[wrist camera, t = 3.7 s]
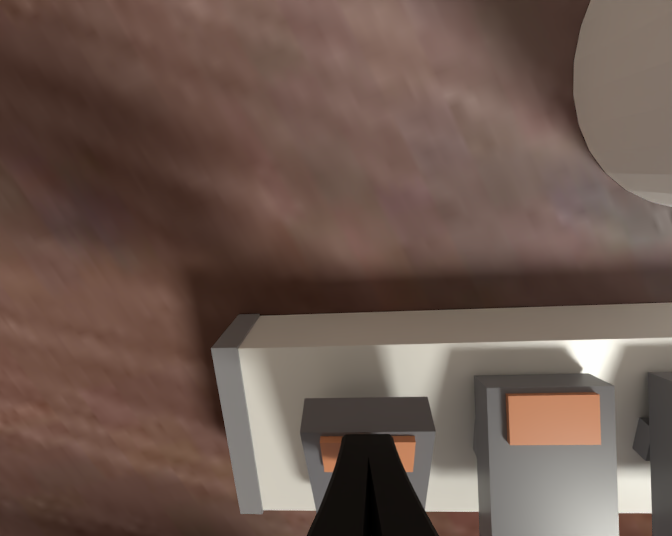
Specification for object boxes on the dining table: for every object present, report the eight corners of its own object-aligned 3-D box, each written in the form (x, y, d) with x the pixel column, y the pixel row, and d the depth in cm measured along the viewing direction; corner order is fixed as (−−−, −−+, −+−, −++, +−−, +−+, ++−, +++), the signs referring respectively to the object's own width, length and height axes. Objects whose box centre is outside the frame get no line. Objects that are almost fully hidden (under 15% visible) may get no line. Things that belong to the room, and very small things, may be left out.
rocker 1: (417, 491, 14) (423, 532, 12) (321, 491, 14) (318, 530, 13) (427, 396, 11) (437, 438, 9) (304, 398, 11) (298, 439, 10)
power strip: (864, 454, 16) (1008, 534, 12) (259, 456, 18) (236, 525, 14) (940, 291, 13) (1143, 332, 10) (238, 314, 15) (205, 355, 12)
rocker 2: (593, 538, 12) (625, 576, 10) (479, 537, 12) (495, 572, 11) (588, 373, 12) (619, 387, 10) (474, 375, 12) (488, 390, 11)
